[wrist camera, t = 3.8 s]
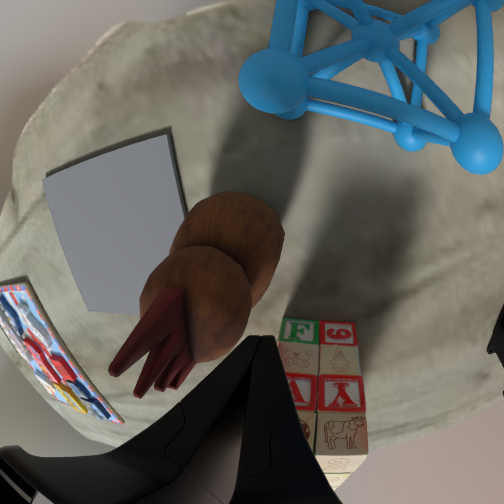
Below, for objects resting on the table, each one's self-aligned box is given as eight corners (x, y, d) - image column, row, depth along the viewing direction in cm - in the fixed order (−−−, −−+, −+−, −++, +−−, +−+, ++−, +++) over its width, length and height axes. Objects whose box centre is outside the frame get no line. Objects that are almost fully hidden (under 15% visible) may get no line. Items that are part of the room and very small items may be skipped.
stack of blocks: (315, 438, 31) (306, 518, 20) (269, 434, 32) (252, 513, 21) (355, 320, 22) (370, 457, 11) (280, 314, 23) (253, 452, 12)
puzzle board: (-13, 286, 35) (-22, 292, 33) (31, 277, 29) (19, 287, 27) (60, 398, 47) (54, 405, 44) (127, 420, 41) (121, 431, 38)
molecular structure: (432, 26, 11) (509, -22, 2) (416, 154, 15) (506, 190, 6) (289, -12, 12) (269, -103, 3) (268, 117, 16) (224, 106, 7)
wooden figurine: (220, 168, 18) (39, 284, 5) (300, 202, 18) (273, 405, 5) (193, 250, 21) (70, 407, 8) (262, 281, 21) (200, 473, 8)
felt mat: (169, 133, 18) (166, 134, 17) (212, 314, 24) (210, 317, 23) (45, 178, 21) (42, 179, 21) (91, 308, 27) (88, 311, 27)
